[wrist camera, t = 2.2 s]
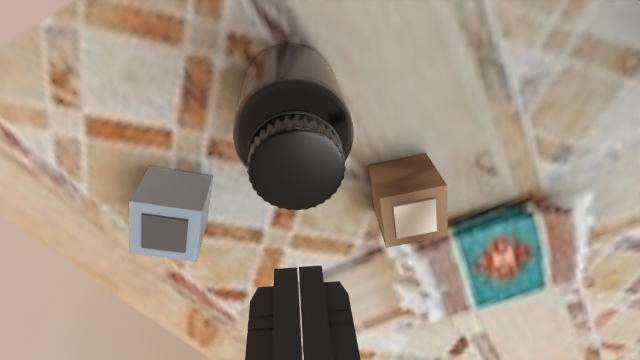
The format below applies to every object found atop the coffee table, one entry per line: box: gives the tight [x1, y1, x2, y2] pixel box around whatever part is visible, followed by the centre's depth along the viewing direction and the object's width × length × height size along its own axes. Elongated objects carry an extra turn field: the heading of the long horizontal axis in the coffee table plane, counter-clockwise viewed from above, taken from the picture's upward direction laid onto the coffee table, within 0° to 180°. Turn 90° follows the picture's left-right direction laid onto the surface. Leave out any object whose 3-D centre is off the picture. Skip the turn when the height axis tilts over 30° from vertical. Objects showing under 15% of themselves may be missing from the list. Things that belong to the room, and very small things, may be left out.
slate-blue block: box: [129, 166, 213, 261], centre depth 31 cm, size 5×5×5 cm
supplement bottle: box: [233, 44, 354, 210], centre depth 23 cm, size 7×7×12 cm
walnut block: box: [368, 153, 447, 248], centre depth 32 cm, size 5×5×5 cm
